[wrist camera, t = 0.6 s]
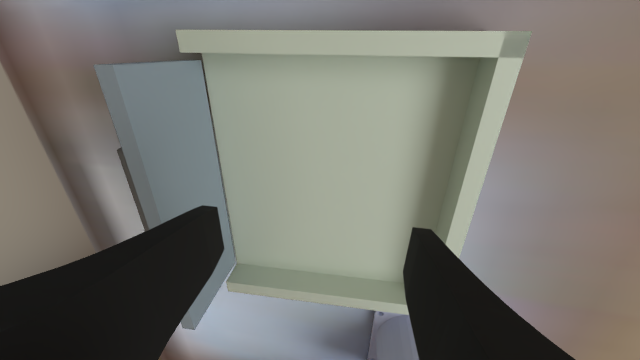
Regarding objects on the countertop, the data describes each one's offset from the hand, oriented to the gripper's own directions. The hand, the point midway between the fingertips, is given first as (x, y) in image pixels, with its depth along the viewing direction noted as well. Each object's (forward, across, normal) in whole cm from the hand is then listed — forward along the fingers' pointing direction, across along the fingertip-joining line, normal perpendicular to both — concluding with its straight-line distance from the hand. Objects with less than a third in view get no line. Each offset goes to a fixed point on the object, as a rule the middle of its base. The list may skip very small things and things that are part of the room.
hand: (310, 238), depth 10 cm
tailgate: (+8, +8, +2) cm, 11 cm away
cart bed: (+9, 0, +2) cm, 10 cm away
